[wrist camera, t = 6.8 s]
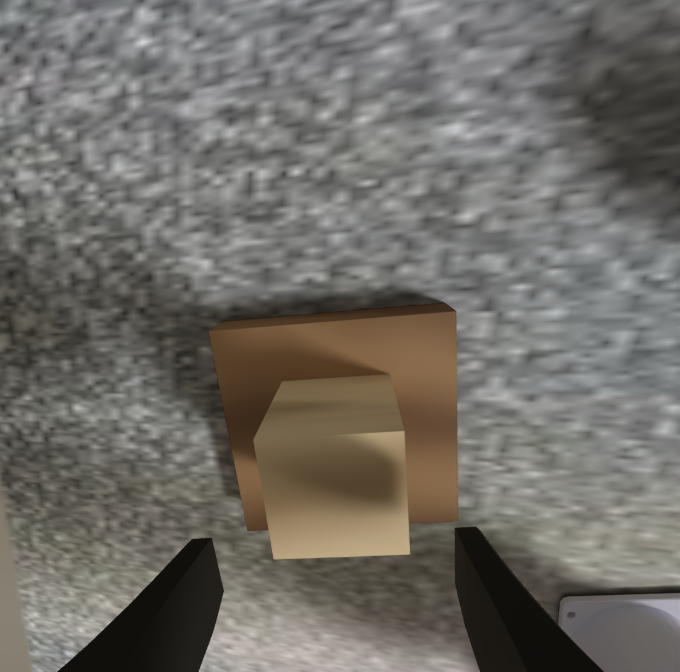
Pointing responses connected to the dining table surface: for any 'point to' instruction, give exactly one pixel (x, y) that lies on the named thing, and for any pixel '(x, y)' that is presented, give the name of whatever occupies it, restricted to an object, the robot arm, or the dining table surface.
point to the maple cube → (334, 469)
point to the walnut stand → (347, 361)
